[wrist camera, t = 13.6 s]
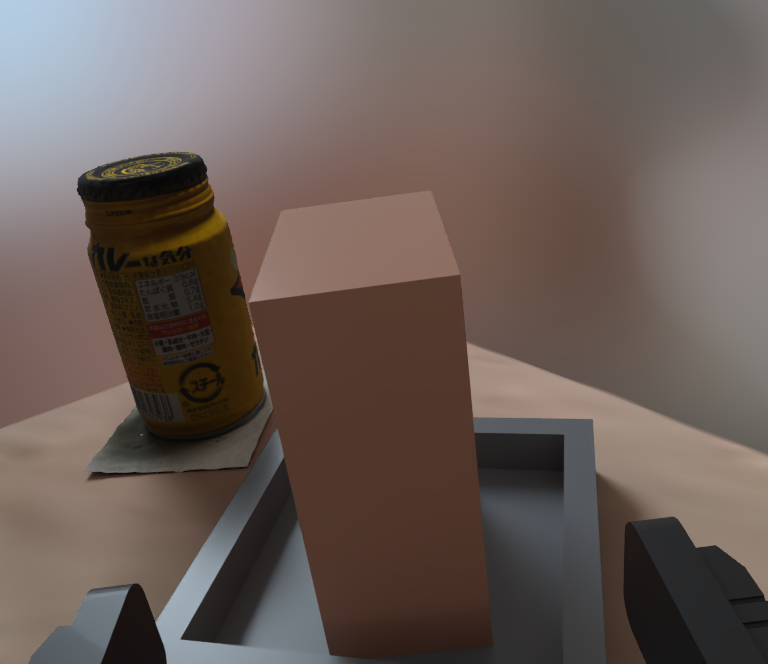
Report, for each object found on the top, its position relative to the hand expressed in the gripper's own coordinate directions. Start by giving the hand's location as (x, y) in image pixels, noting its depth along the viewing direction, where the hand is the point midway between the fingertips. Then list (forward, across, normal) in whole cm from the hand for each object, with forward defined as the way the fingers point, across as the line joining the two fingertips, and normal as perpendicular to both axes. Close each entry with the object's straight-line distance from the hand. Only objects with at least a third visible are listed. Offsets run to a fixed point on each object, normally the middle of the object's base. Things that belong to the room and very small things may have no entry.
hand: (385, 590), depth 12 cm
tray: (+9, 0, +8) cm, 12 cm away
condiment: (+21, +9, +8) cm, 24 cm away
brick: (+9, 0, +8) cm, 12 cm away
